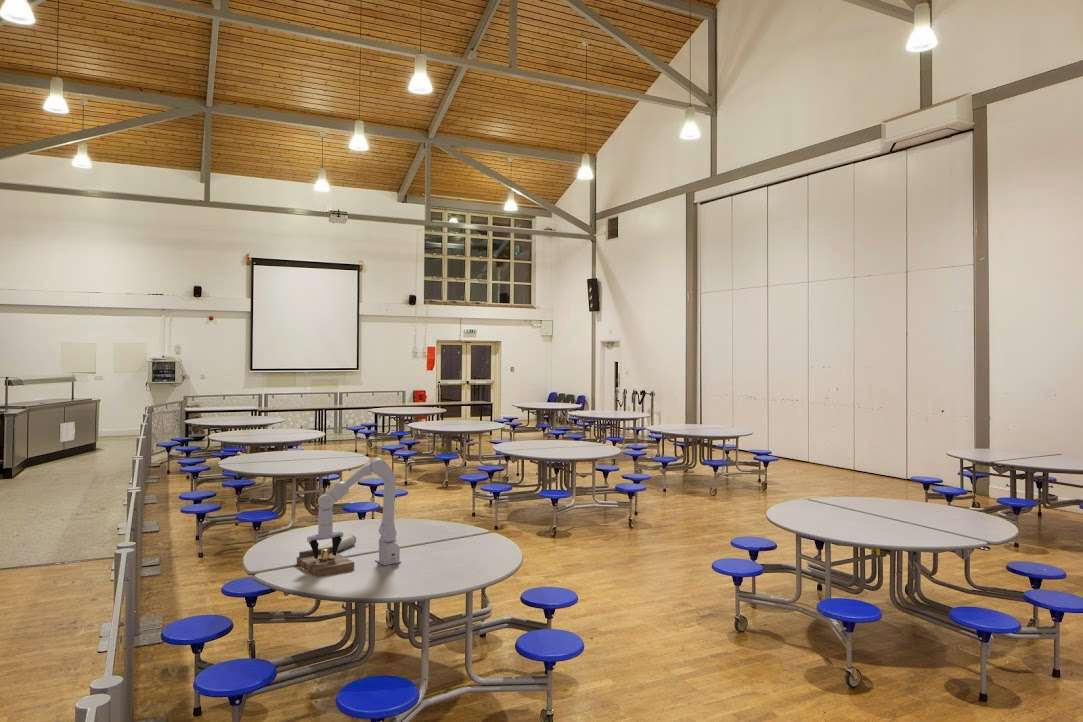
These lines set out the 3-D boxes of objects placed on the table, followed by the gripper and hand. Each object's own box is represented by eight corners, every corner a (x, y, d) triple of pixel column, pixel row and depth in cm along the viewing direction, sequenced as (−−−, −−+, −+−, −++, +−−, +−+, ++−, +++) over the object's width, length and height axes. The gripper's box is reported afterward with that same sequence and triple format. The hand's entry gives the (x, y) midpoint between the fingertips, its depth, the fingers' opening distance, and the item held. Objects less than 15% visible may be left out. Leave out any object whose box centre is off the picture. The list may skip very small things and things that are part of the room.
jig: (354, 569, 272) (354, 557, 272) (315, 577, 262) (315, 564, 262) (334, 557, 289) (334, 546, 289) (296, 564, 279) (296, 552, 279)
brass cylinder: (330, 567, 275) (330, 550, 276) (322, 568, 274) (322, 551, 274) (327, 565, 278) (327, 548, 278) (319, 566, 276) (320, 549, 276)
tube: (324, 551, 286) (357, 536, 310) (314, 546, 288) (348, 532, 312) (321, 562, 287) (354, 547, 311) (311, 557, 288) (345, 542, 312)
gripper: (338, 519, 284) (338, 551, 283) (304, 524, 275) (304, 557, 274) (345, 522, 278) (345, 555, 278) (310, 527, 269) (310, 561, 269)
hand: (325, 556), depth 276 cm, fingers open, 7 cm apart
